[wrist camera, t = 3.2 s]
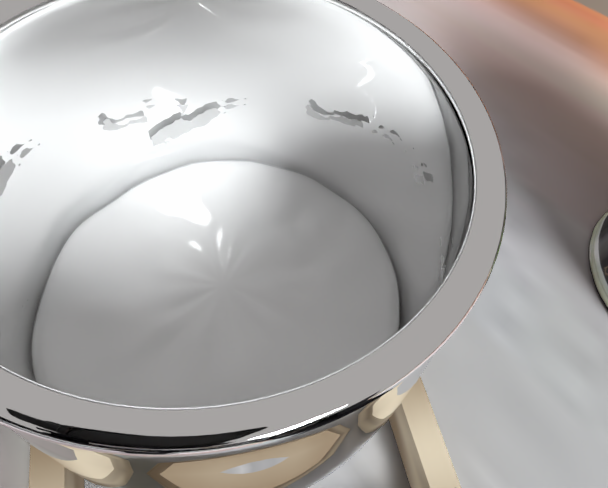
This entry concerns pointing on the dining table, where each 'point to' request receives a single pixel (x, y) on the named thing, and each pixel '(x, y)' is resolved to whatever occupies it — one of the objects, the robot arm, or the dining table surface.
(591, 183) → the dining table surface
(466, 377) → the dining table surface
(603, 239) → the coffee can
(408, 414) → the beech frame
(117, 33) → the steel cup
